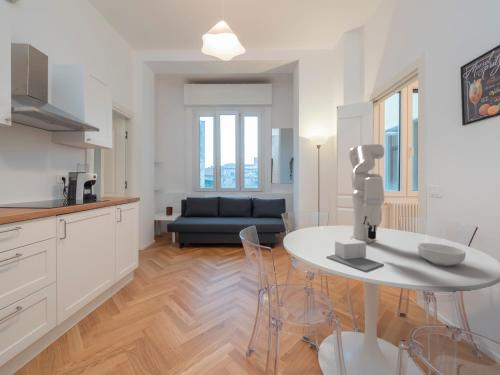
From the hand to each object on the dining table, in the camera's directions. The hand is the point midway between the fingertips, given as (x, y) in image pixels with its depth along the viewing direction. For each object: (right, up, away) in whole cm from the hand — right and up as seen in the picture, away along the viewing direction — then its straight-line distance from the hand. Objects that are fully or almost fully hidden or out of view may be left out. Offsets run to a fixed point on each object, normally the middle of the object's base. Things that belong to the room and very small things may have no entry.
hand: (371, 238), depth 116 cm
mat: (-12, -9, -8) cm, 17 cm away
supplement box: (-6, -5, -1) cm, 7 cm away
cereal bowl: (+26, -9, -10) cm, 30 cm away
